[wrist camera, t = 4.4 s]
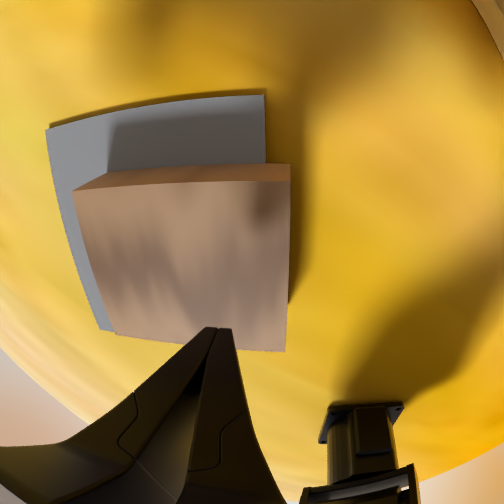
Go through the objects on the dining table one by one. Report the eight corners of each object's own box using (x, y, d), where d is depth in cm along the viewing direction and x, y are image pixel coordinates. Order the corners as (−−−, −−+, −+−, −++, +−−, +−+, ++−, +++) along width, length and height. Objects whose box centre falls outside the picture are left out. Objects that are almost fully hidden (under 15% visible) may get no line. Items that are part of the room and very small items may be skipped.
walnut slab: (285, 352, 14) (115, 334, 15) (286, 312, 16) (136, 302, 17) (290, 181, 10) (71, 191, 11) (290, 163, 12) (106, 172, 14)
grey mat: (268, 345, 18) (267, 348, 18) (101, 326, 19) (99, 329, 19) (264, 94, 11) (263, 94, 11) (48, 129, 13) (45, 129, 13)
